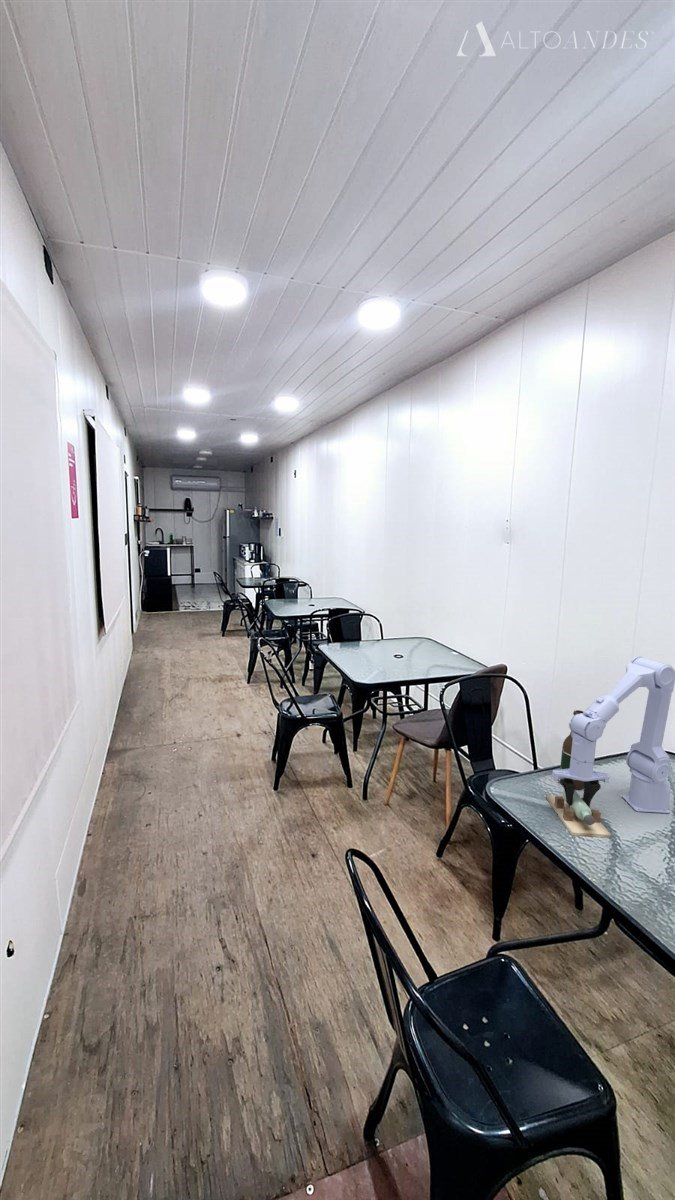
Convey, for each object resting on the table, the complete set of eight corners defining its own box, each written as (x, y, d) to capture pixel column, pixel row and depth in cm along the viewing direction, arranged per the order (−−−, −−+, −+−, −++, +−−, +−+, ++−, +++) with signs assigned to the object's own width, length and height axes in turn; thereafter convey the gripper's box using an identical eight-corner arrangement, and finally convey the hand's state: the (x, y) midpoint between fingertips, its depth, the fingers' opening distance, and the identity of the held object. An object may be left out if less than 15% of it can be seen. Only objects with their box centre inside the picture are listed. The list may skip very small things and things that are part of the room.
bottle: (576, 802, 138) (577, 789, 138) (596, 828, 126) (598, 814, 125) (561, 800, 138) (563, 788, 138) (581, 827, 126) (583, 813, 126)
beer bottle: (562, 775, 157) (569, 705, 153) (588, 783, 152) (596, 711, 148) (555, 784, 151) (563, 711, 147) (582, 793, 146) (590, 718, 142)
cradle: (580, 799, 142) (581, 788, 142) (610, 837, 125) (612, 824, 124) (545, 797, 143) (546, 786, 142) (571, 835, 125) (573, 822, 125)
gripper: (602, 752, 135) (597, 797, 137) (549, 750, 136) (545, 794, 138) (615, 764, 128) (609, 812, 130) (560, 761, 129) (555, 808, 131)
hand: (577, 804), depth 133 cm, fingers closed on bottle, 4 cm apart
